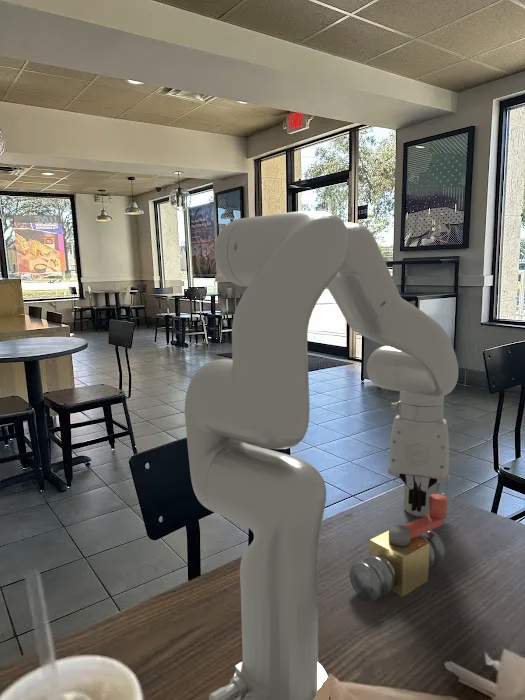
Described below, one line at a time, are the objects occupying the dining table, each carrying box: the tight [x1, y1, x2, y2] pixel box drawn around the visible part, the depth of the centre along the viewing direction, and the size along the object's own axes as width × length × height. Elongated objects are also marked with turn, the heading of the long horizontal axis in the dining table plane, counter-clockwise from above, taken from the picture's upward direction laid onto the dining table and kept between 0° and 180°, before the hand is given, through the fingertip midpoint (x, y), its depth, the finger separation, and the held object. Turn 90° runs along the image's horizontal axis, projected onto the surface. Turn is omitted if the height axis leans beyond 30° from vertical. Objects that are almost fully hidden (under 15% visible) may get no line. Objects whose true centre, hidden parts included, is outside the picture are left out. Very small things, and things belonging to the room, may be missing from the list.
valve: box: [349, 529, 446, 603], centre depth 87 cm, size 18×7×7 cm, turn 127°
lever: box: [388, 493, 448, 546], centre depth 89 cm, size 13×4×5 cm, turn 123°
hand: (416, 508), depth 93 cm, fingers closed
